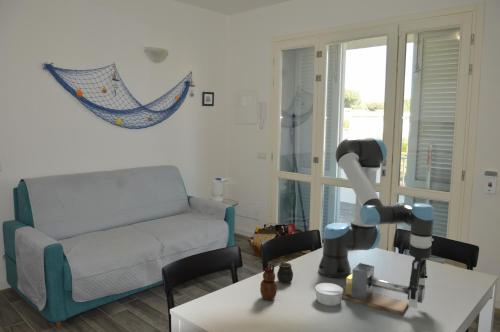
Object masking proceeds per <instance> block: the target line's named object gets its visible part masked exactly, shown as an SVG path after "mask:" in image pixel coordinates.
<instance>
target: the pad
mask: <svg viewBox="0 0 500 332" xmlns="http://www.w3.org/2000/svg"><path fill="white" fill-rule="evenodd" d="M342 289H343V288H342ZM342 295H344V296H347V297H351V296H350V295H347V294H346V288H345V289H343V294H342Z"/></svg>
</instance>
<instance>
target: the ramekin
mask: <svg viewBox="0 0 500 332" xmlns="http://www.w3.org/2000/svg"><path fill="white" fill-rule="evenodd" d="M314 291H315V296H316V297H315V298H316V300H317V302H318V303H320V304H321V305H324V306H329V307H333V306H334V307H335V306H338V305H339V304H340V303H341V302H342V294H343V287H341V286H340V285H338V284H335V283H331V282H321V283H318V284H316V285H315V287H314Z"/></svg>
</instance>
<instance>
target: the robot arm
mask: <svg viewBox="0 0 500 332" xmlns="http://www.w3.org/2000/svg"><path fill="white" fill-rule="evenodd" d="M387 153H388V151H387V146H386V144H385V142H384V141H383V140H382V139H381V138H377V137H376V138H375V137H349V138H344V139H343V140H342V141H341V142H340V143H339V144H338V145H337V148H336V150H335V161H336V163H337V166H338V167H339V168H340V170H341V169H342V170H343V172H344V175H345V177H346V178H347V180H348V182H349V184H350V186H351V188H352V191H353V192H354V194H355V204H354V205H355V206H354V218H352V219H351V221H350V225H349V224H348V223H346V222H332V223H328V224H327V225H326V226H324V229H323V234H322V236H323V246H322V249H323V250H322V257H321V260H320V262H319V263H318V264H319V265H318V273H319V274H320V275H322V276H325V277H327V278H333V279H343V278H344V279H345V278H347V277H348V276H349V275H350V274H351V273H352V272H351V271H352V268H351V265H350V261H349V258H348V257H349V252H351V251H353V252H355V251H369V250H373V249H376V248H377V247H378V246H379V244H380V241H381V232H380V228H379V227H378V225H380V226H381V225H398V224H399V225H401V224H405V225H407V226H410V232H409V247H408V248H409V250H408V254H409V255H410V256H411V257H413V259H414V260H412V262H411V271H410V278H409V279H410V280H409V284H408V286H409V287H408V289H409V290H410V295H409V300H408V307H411V308H415V309H417V308H418V302H417V300H418V284H420V285H424V286H425V287H426V279H428V275H427V274H428V273H427V259H430V258H431V256H432V247H431V246H432V242H433V241H434V239H435V238H432V237H433V231H434V221H435V220H434V219H435V214H434V213H435V208H434V206H433V205H431V204H429V203H428V204H427V203H422V202H420V203H419V202H418V203H413V204H412V205H411V204H409V203H407V202H401V201H400V202H399V201H398V202H395V203H394V204H383V203H382V201H381V200H380V197H379V195H378V194H377V192H376V185H377V172H378V170H379V169H380V168H381V165H382V163H384V162H385V161H386V160H387V157H388V154H387ZM412 286H413V287H412Z"/></svg>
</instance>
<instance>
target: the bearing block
mask: <svg viewBox="0 0 500 332" xmlns="http://www.w3.org/2000/svg"><path fill="white" fill-rule="evenodd" d="M351 271H352V272H351V273H352V291H351V298H355V299H358V300H362V301H367V300H368V298H369V297H370V296H371V295H372V294H373V293H374V286H371V285H368V284H369V277H370V278H374V276H375V266H374V265H370V264H365V263H362V262H361V263H360V262H359V263H358V264H357V265H356V266H355V267H353V268H352V270H351Z"/></svg>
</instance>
